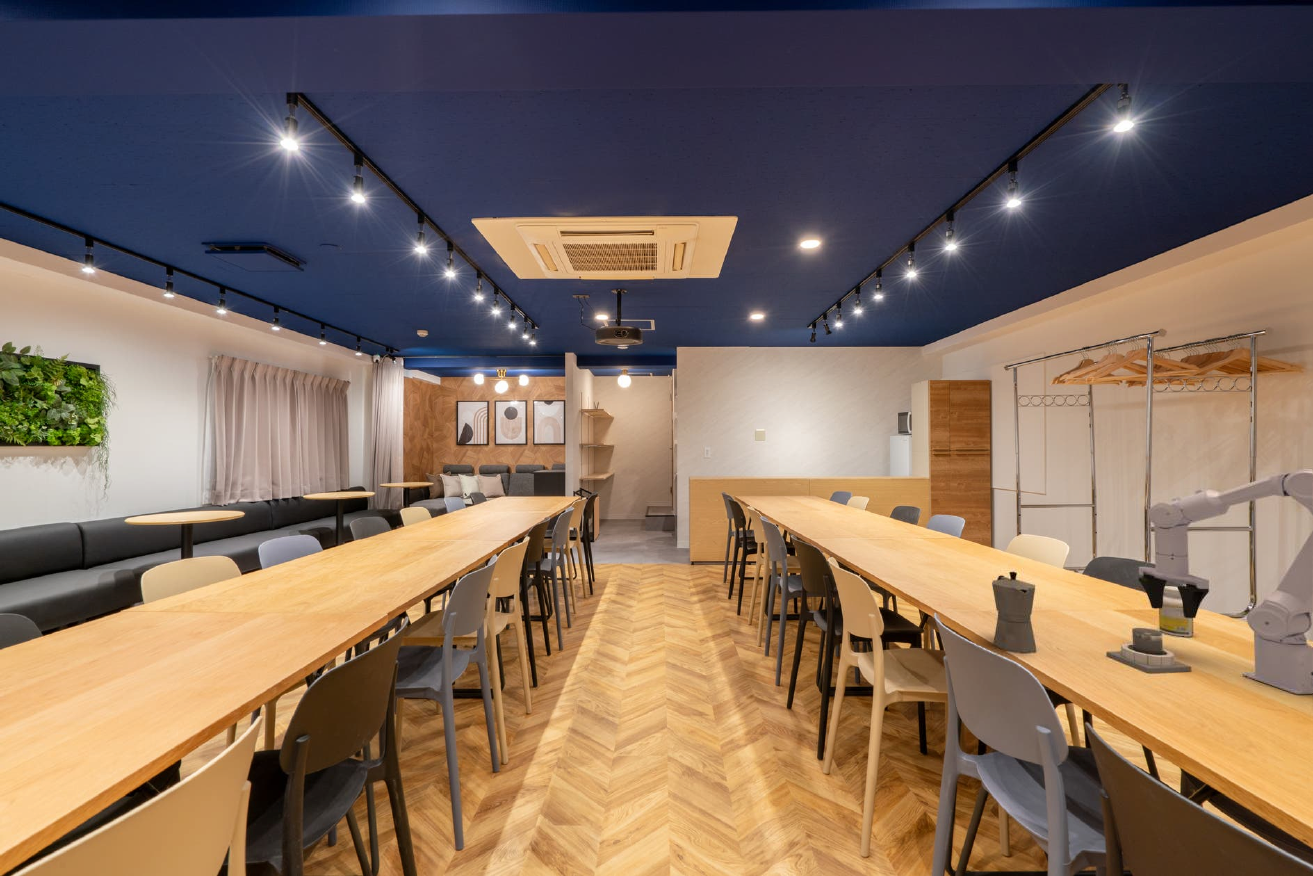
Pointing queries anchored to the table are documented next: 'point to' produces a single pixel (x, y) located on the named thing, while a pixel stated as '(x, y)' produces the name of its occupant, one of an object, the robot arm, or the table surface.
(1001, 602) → the coffeepot
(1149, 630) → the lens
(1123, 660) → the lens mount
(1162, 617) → the pill bottle
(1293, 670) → the robot arm
